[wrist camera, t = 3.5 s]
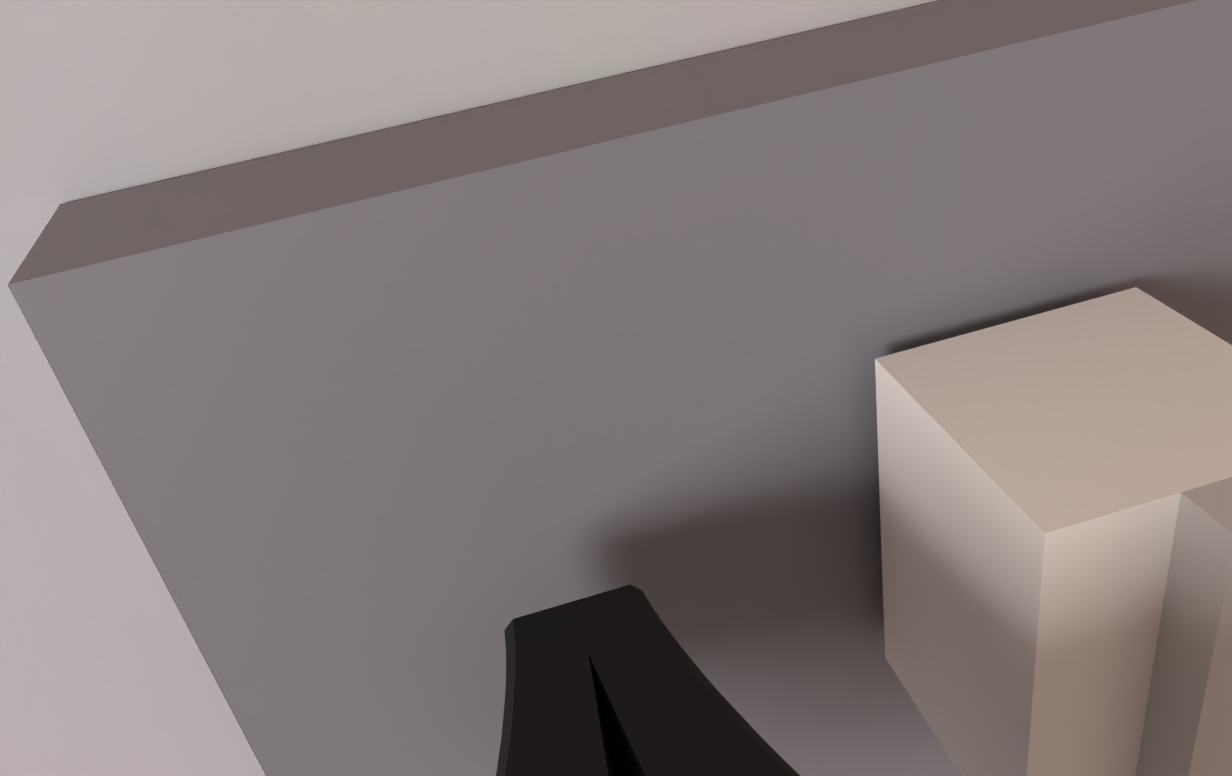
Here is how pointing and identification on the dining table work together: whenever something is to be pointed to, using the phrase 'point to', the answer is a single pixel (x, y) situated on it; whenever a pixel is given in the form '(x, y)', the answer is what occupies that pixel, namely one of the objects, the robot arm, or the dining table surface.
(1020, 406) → the fader knob
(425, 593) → the console
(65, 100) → the dining table surface
